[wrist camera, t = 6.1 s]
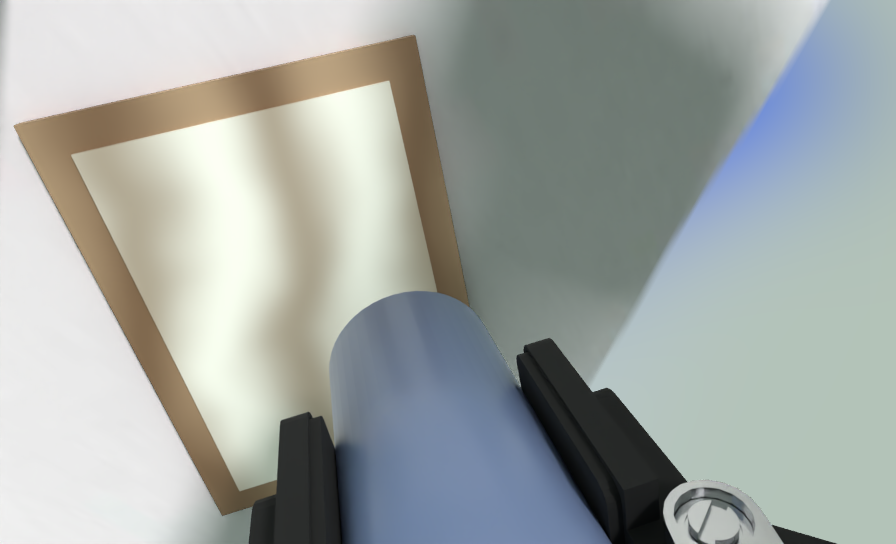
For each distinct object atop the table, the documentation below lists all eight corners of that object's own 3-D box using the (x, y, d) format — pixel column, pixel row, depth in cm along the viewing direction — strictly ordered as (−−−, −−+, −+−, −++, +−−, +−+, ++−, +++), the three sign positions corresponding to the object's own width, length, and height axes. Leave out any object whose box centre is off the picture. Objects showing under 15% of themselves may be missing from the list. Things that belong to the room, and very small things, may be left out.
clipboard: (412, 35, 24) (419, 36, 23) (492, 428, 34) (500, 446, 33) (20, 122, 22) (1, 130, 21) (226, 512, 32) (222, 535, 31)
